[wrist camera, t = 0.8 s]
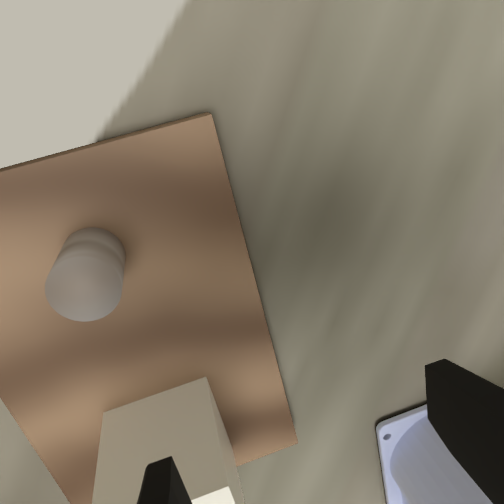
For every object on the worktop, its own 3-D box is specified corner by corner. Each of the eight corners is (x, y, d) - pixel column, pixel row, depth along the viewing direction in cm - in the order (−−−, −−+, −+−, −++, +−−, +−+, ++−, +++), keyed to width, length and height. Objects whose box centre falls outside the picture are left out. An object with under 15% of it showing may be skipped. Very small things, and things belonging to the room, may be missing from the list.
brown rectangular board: (291, 426, 24) (318, 491, 20) (87, 503, 23) (75, 587, 19) (207, 112, 17) (225, 121, 13) (-107, 197, 15) (-191, 236, 11)
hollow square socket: (231, 447, 22) (259, 565, 17) (139, 481, 21) (137, 616, 16) (206, 376, 20) (228, 486, 15) (103, 412, 19) (87, 540, 14)
